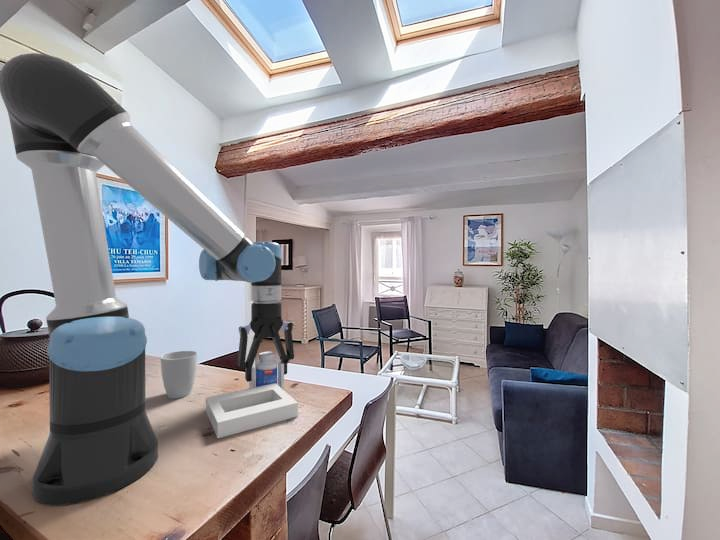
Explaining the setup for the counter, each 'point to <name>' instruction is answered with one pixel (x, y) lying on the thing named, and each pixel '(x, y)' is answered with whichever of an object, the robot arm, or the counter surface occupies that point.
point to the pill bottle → (266, 369)
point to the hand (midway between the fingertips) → (266, 389)
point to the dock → (249, 409)
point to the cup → (178, 372)
